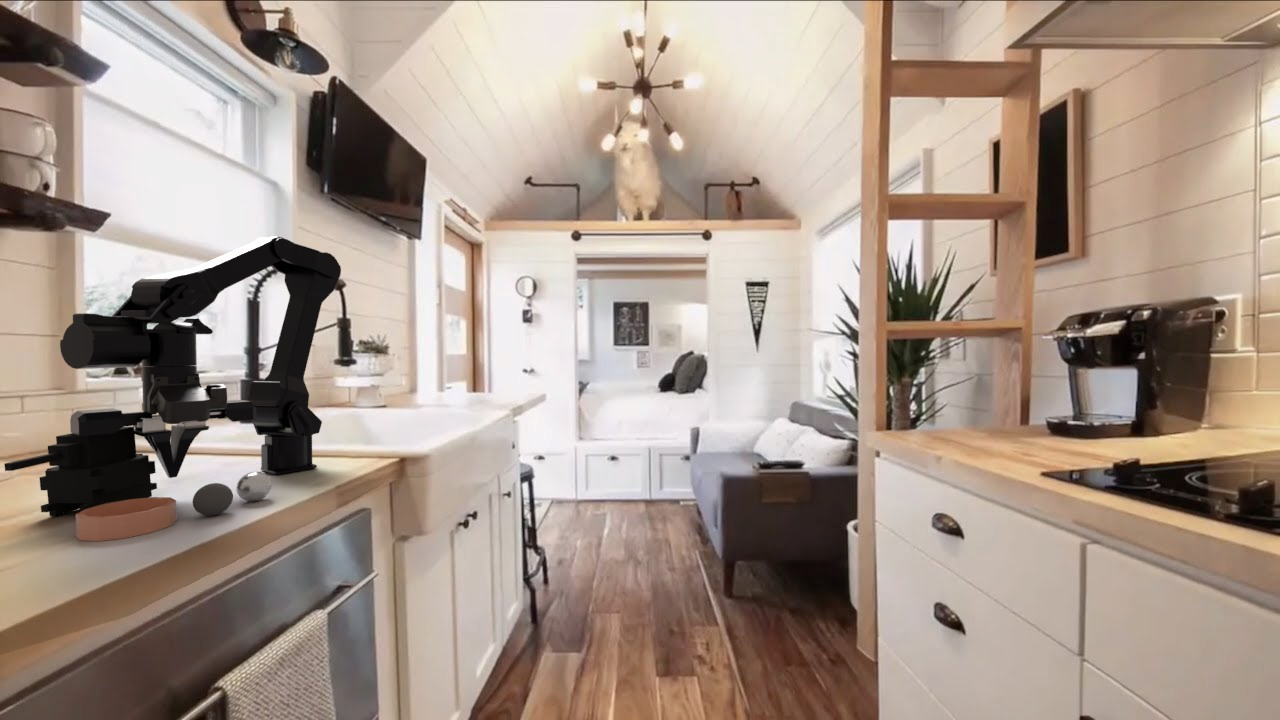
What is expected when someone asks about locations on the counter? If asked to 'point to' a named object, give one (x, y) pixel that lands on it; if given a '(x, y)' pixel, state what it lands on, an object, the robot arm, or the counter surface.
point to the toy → (92, 471)
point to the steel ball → (254, 486)
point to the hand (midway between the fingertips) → (172, 477)
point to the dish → (125, 518)
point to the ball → (212, 499)
